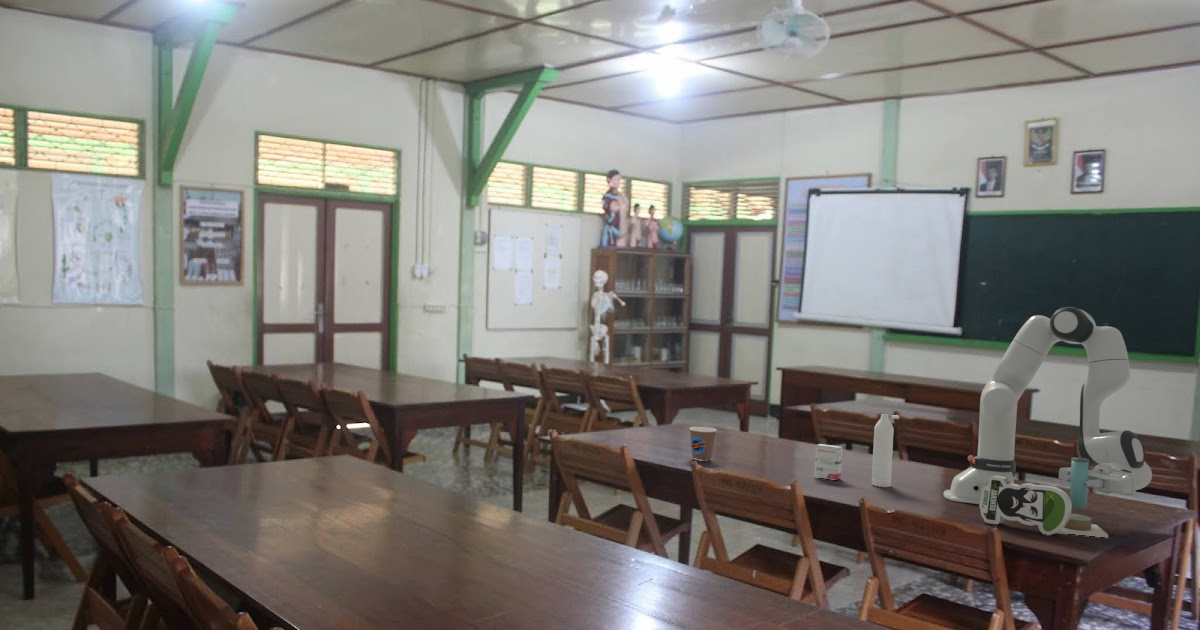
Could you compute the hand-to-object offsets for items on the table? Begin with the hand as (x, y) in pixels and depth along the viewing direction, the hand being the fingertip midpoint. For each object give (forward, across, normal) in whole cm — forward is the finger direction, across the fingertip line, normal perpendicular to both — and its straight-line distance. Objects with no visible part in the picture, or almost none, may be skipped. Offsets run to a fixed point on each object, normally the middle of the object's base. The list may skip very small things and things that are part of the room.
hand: (1077, 481), depth 273 cm
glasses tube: (-1, 0, +8) cm, 8 cm away
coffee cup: (+48, -124, +14) cm, 134 cm away
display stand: (-1, 0, +14) cm, 15 cm away
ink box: (+23, -81, +14) cm, 86 cm away
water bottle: (+11, -65, +14) cm, 68 cm away
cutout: (+13, -7, +15) cm, 21 cm away
